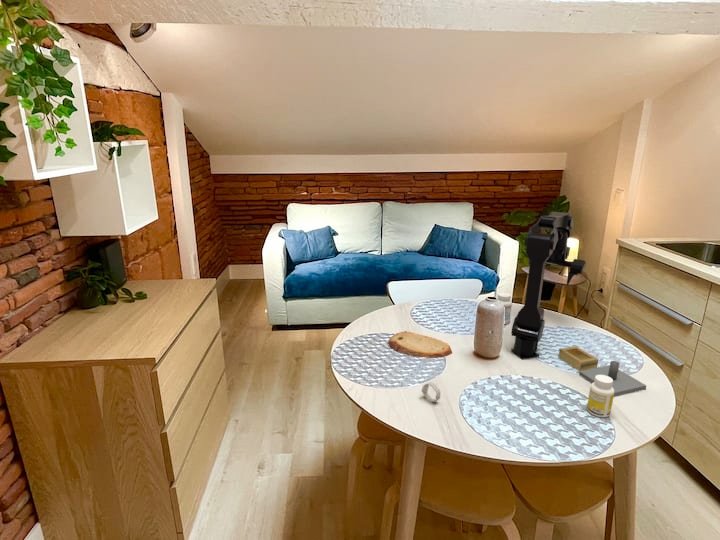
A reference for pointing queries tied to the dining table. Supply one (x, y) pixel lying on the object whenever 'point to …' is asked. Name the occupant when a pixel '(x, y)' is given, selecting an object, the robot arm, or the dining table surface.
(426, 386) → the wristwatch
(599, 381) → the supplement bottle
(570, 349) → the wooden tray box
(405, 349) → the bread slice
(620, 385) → the keeper plate
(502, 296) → the pill bottle
